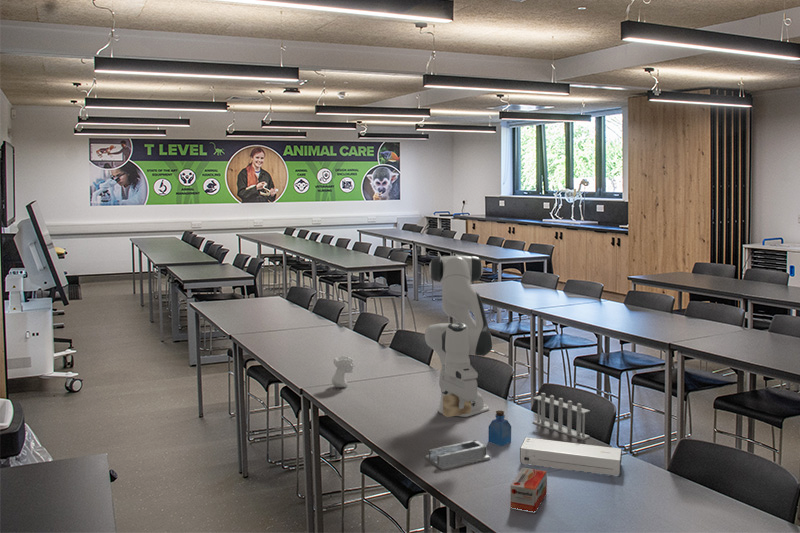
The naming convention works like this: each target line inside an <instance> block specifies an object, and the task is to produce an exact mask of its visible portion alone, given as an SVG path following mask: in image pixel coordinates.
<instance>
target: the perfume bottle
mask: <svg viewBox="0 0 800 533" xmlns="http://www.w3.org/2000/svg"><path fill="white" fill-rule="evenodd" d="M504 413H505V411H504V410H496V411H495V415H494V416H495V419H492V421H491V422H490V424H489V425H488V430H487V431H488V437H487V438H488V439H487V440H488V441H487V442H488V443H491V444H494V445H496V446H499V447H503V446H505V445H507V444H509V443H511V442H512V425H511V423H510V422H509V420H508V419H505V414H504Z"/></svg>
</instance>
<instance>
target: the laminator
mask: <svg viewBox="0 0 800 533" xmlns="http://www.w3.org/2000/svg"><path fill="white" fill-rule="evenodd" d="M622 456H623V449H622V448H619V447H611V446H610V447H609V446H608V447H607V446H601V445H593V444H586V443H585V444H584V443H575V442H567V441H560V440H549V439H541V438H534V437H524V439H523V442H522V443H521V446H520V448H519V462H520V463H523V464H522V465H526V464H531V465H530V466H534V465H538V466H537V467H541V466H544V468H549V467H553V468H552V469H557V470H565V471H572V470H575V471H574V472H579V471H584V472H583V473H587V472H592V473H591V474H594V473H600V474H599V475H602V474H611V475H619V476H620V475H621V466H622ZM601 473H602V474H601Z"/></svg>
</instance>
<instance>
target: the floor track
mask: <svg viewBox="0 0 800 533" xmlns="http://www.w3.org/2000/svg"><path fill="white" fill-rule="evenodd" d="M425 459H426V460H428V462H430V463H431V464H433V465H434V466H436V467H437V468H439V469H440V470H442V471H446V470H449V469H448V468H450V469H453V467H454V468H457V466H459V467H463V466H466V464H467V465H471V464H470V463H472V464H475V463H474V462H476V463H479V462H478V461H480V462H483V461H482V460H484V461H487V460H486V459H489V460H491V456H489V454H487V445H486V444H483V443H481V442H480V441H478V440H476V439H473V440H472V439H471V440H468V441H463V442H459V443H458V442H457V443H453V444H450V445H443V446H440V447H435V448H431V449H428V454H426V455H425ZM462 465H463V466H462ZM445 469H446V470H445Z"/></svg>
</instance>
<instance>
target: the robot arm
mask: <svg viewBox="0 0 800 533" xmlns="http://www.w3.org/2000/svg"><path fill="white" fill-rule="evenodd" d="M430 260H431V261H430V263H429V265H428V273H429V275H430V278H431V279H432V281H434V282H438V283H439V282H440V283H441V282H442V287H441V288H442V292H441V295H442V296H441V297H442V299H441V300H442V301H441V308H442V311H443V312H444V314H446V315H447V316H448V317H450V318H453V319H454V320H456V322H450V323H449V322H447V323H444V322H443V323H435V324H429V325H428V327H427V328H426V330H425V332H424V340H425V343H426V345H427V346H428V347H429V348H431V349H432V350H433V351H434V352H435V353H436V354H437V356H438V358H439V361H440V364H441V370H440V372H439V379H438V386H439V388H440V392H441V394H440V395H441V396H440V401H439V407H438V409H437V410H438V412H439V414H441V415H443V396H444V395H450V394H454V395H456V396H458V397H459V400H460V401H459V403H457V405H458V406H457V407H458V408H459V409H463V408H464V403H465V400H466V401H471V413H467V414H462V415H456V416H455V417H462V418H467V417H470V416H473V415H479V414H480V413H484V412H486V411H489V410H490V408H489V406H488V404H486V403H484V402H485V401H484V398H483V395H482V394H481V393H480V392H479V391H478V381H477V379H478V378H479V377H478V376H479V374H478V372H477V371H476V369H475V368H474V367H473V366H472V364H471V359H470V355H471V356H481V357H484V356H487V355H488V354H489V353H490V352H492V348H493V344H494V343H493V341H494V340H493V337H492V334H491V331H490V327H489V325H488V320H487V316H486V312H485V306H484V304H483V300H482V297H481V295H480V293H479V292H477V291H475V290H474V288H473V285H472V283H474V282H478V281H479V280H480V279H481V278H482V275H483V274H484V264H483V262H482V261H481V260H482V259H481V258H479V257H478V256H474V255H471V256H469V255H459V254H457V255H446V256H445V255H444V256H441V255H439V256H435V257H433V258H432V259H430ZM470 312H471V313H472V315H473V317H474V318H473V317H472V315H471V313H470Z"/></svg>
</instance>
